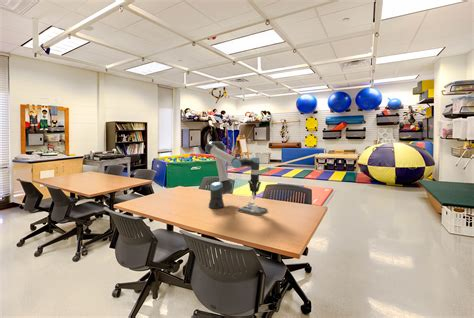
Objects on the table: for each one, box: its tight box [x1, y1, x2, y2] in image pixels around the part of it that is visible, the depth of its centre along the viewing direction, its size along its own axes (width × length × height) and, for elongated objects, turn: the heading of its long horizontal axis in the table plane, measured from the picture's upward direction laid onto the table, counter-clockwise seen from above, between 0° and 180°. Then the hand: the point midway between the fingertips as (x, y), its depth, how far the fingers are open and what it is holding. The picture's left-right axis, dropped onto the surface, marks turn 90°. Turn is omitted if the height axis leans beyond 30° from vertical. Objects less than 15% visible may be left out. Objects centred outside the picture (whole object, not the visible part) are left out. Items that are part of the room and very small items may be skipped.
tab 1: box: [247, 200, 255, 208], centre depth 230 cm, size 4×4×5 cm
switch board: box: [237, 204, 268, 217], centre depth 226 cm, size 22×16×3 cm
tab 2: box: [251, 203, 259, 211], centre depth 220 cm, size 4×4×5 cm
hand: (254, 198), depth 228 cm, fingers closed
